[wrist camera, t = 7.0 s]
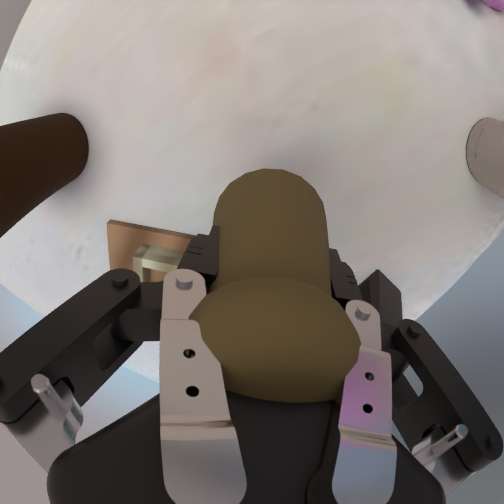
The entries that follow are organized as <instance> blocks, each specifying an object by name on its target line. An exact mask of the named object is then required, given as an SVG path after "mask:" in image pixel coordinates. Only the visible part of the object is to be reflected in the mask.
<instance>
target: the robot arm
mask: <svg viewBox="0 0 504 504" xmlns="http://www.w3.org/2000/svg"><path fill="white" fill-rule="evenodd" d="M467 162H468V166H469V169H470V171H471V173H472V175H473V176H474V178H475V179H476V180H477V181H478V182H480V183H482V184H483V185H485V186H486V187H488V188H490V189H491V190H493V191H494V192H496V193H497V194H499V195H500V196H502V197H503V198H504V122H502V121H499V120H495V119H492V118H485V119H482V120H480V121H479V122H478V123H477V124H476V125H475V126H474V127H473V129H472V131H471V133H470V135H469V138H468V143H467ZM219 241H220V226H216V225H213V226H212V229H211V231H210V234H209V236H208V235H203V234H198V235H196V236H195V237H193V238H191V240H190V242H189V244H188V246H187V248H186V250H185V252H184V254H183V256H182V259H181V261H180V263H179V265H178V267H177V269H176V270H173V271H170V272H169V273H167V274H166V276H165V277H164V280H163V281H159V282H140V277H139V275H138V274H137V273H136V272H134V271H132V270H130V269H125V268H118V269H113V270H110V271H108V272H106V273H105V274H103V275H102V276H101V277H99V278H98V279H96V280H95V281H93V282H92V283H91V284H89V285H88V286H86V287H85V288H84V289H82V290H81V291H79V292H78V293H77V294H75V295H74V296H72V297H71V298H70V299H68V300H67V301H66V302H64V303H63V304H62V305H60V306H59V307H58V308H56V309H55V310H54V311H52V312H51V313H50V314H48V315H47V316H46V317H44V318H43V319H42V320H40V321H39V322H38V323H37V324H35V325H34V326H33V327H31V328H30V329H29V330H28V331H26V332H25V333H24V334H23V335H21V336H20V337H19V338H18V339H16V340H15V341H14V342H13V343H12V344H10V345H9V346H8V347H7V348H5V349H4V350H3V351H2V352H1V353H0V424H1V425H2V426H3V427H4V428H5V429H6V430H7V431H8V432H9V433H10V434H12V435H13V436H14V437H15V438H16V439H17V440H18V441H19V442H20V444H21V445H22V446H23V447H24V448H25V449H26V451H27V452H28V453H29V454H30V455H31V456H32V457H33V458H34V459H35V460H36V461H37V462H38V463H39V464H40V465H41V467H43V469H44V470H46V472H48V476H47V492H48V496H49V500H50V504H446V497H447V496H448V495H449V494H450V493H451V492H452V491H453V490H455V489H456V488H457V487H458V486H459V485H460V484H461V483H462V482H463V481H464V480H465V479H466V478H467V477H469V476H471V475H472V474H474V473H476V472H478V471H479V470H481V469H483V468H484V467H486V466H487V465H488V464H490V463H492V462H493V461H495V460H496V459H498V458H499V457H500V456H501V454H502V451H503V441H502V438H501V435H500V433H499V432H498V430H497V428H496V427H495V425H494V424H493V422H492V421H491V419H490V417H489V416H488V414H487V413H486V411H485V410H484V408H483V407H482V405H481V404H480V402H479V401H478V399H477V398H476V397H475V395H474V394H473V392H472V391H471V390H470V388H469V387H468V385H467V384H466V382H465V381H464V380H463V378H462V377H461V375H460V374H459V373H458V371H457V370H456V369H455V367H454V366H453V365H452V363H451V362H450V361H449V359H448V358H447V357H446V355H445V354H444V353H443V351H442V350H441V349H440V348H439V346H438V345H437V344H436V342H435V341H434V340H433V339H432V337H431V336H430V335H429V334H428V332H427V331H426V330H425V329H424V328H423V327H422V326H421V325H420V324H419V323H417V322H416V321H413V320H410V319H403V320H401V321H400V322H399V324H398V325H397V327H395V326H392V325H390V324H387V323H384V322H382V321H380V315H379V313H378V311H377V310H376V309H375V308H374V307H373V306H372V305H370V304H369V303H367V302H364V300H363V297H362V294H361V292H360V289H359V287H358V285H357V281H356V279H355V276H354V274H353V271H352V269H351V268H350V267H349V266H348V265H347V264H346V263H345V262H341V260H340V257H339V255H338V252H337V250H336V249H331V248H328V250H329V264H330V279H331V291H332V298H333V299H335V300H336V301H337V302H339V304H340V305H341V307H342V308H343V309H344V311H345V312H346V313H347V315H348V317H349V318H350V320H351V322H352V323H353V325H354V327H355V328H356V330H357V332H358V334H359V338H360V341H361V344H362V345H361V346H360V349H359V357H358V361H357V363H356V364H355V365H354V367H353V368H352V369H351V371H350V372H349V373H348V374H347V376H345V378H344V380H343V382H342V384H341V387H340V389H339V391H338V393H337V394H336V396H335V400H328V401H319V402H307V403H292V402H278V401H270V400H263V399H258V398H253V397H248V396H244V395H240V394H237V393H234V392H231V391H228V390H225V387H224V382H223V376H222V370H221V364H220V361H218V360H217V359H216V358H215V356H214V355H213V354H212V352H211V351H210V350H209V348H208V347H207V345H206V344H205V343H204V341H203V340H202V337H201V331H200V326H199V324H198V322H197V321H196V320H191V319H188V318H189V315H190V314H191V313H192V311H193V310H194V309H195V308H196V306H197V305H198V304H199V303H200V301H201V300H202V299H203V298H204V297H205V296H206V295H207V294H208V291H209V288H210V285H211V284H212V283H213V282H214V280H215V279H216V276H217V272H218V267H219ZM144 341H160V367H159V375H160V393H159V394H158V395H156V396H154V397H153V398H151V399H150V400H148V401H147V402H145V403H144V404H142V405H140V406H139V407H137V408H136V409H134V410H133V411H131V412H129V413H128V414H126V415H124V416H123V417H121V418H120V419H118V420H116V421H115V422H113V423H111V424H110V425H108V426H106V427H105V428H103V429H101V430H100V431H98V432H96V433H95V434H93V435H91V436H89V437H88V438H86V439H84V440H82V441H81V442H79V443H77V444H75V438H76V434H77V432H78V430H79V429H80V427H81V426H82V423H83V412H82V409H81V407H82V406H83V405H84V404H85V403H86V402H87V401H88V400H89V398H90V397H91V396H92V395H93V394H94V393H95V392H96V391H97V390H98V389H99V388H100V387H101V386H102V385H103V384H104V383H105V382H106V381H107V380H108V379H109V378H110V376H112V375H113V373H114V372H115V371H116V370H117V369H118V368H119V367H120V366H121V365H122V364H123V363H124V362H125V361H126V360H127V359H128V358H129V357H130V356H131V355H132V354H133V353H134V352H135V351H136V350H137V349H138V348H139V347H140V346H141V345H142V343H143V342H144ZM409 365H411V367H412V368H413V370H414V371H415V373H416V374H417V375H418V377H419V378H420V380H421V381H422V384H423V392H422V394H421V395H420V396H419V397H418V396H417V394H416V393H415V391H414V390H413V388H412V386H411V385H410V383H409V382H408V380H407V379H406V377H405V376H404V374H403V372H404V371H405V370H406V368H407V367H408V366H409ZM392 420H393V422H394V424H395V425H396V427H397V429H398V430H399V432H400V434H401V436H402V437H403V439H404V441H405V443H406V444H407V446H408V448H409V450H410V452H411V453H412V454H411V453H410V452H409V451H408V450H407V449H406V448H405V447H404V446H403V445H402V444H401V443H400V442H399V441H398V440H397V439H396V438H395V437H394V436H393V435H392V434H391V426H392V425H391V423H392Z"/></svg>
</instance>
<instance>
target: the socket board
mask: <svg viewBox="0 0 504 504" xmlns="http://www.w3.org/2000/svg"><path fill="white" fill-rule="evenodd" d="M107 235H108V249H109V261H110V270H113V269H118V268H125V269H130V270H132V271H134V272H136V273H137V274H138V275H139V277H140V282H159V281H163V280H164V277H165V276H166V274H167V273H169V272H170V271H173V270H176V269H177V267H178V265H179V263H180V261H181V259H182V256H183V254H184V252H185V250H186V248H187V246H188V244H189V242H190V240H191V238H193V237H195V236H194V235H189V234H184V233H178V232H173V231H168V230H162V229H157V228H152V227H146V226H141V225H136V224H130V223H125V222H120V221H114V220H110V221H109V222H108V223H107Z"/></svg>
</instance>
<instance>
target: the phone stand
mask: <svg viewBox="0 0 504 504" xmlns="http://www.w3.org/2000/svg"><path fill="white" fill-rule="evenodd" d="M358 287H359V289H360V292H361V294H362V297H363V300H364V302H367V303H369V304H370V305H372V306H373V307H374V308H375V309H376V310H377V311H378V313H379V315H380V321H382V322H384V323H387V324H390V325H392V326H395V327H397V325H398V324H399V322H400V321H401V320H402V302H401V292H400V291H399V290H398V289H397V288H396V287H395V286H394V285H393V284H392V283H391V282H390V281H389V280H388V279H387V278H386V277H385V276H384V275H383V274H382V273H381V272H380V271H379V270H376V271H375V272H374V273H372V274H371V275H370V276H369V277H368V278H367V279H365V280H364V281H363V282H362V283H361V284H360V285H358Z"/></svg>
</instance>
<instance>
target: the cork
mask: <svg viewBox="0 0 504 504" xmlns="http://www.w3.org/2000/svg"><path fill="white" fill-rule="evenodd" d="M213 225H216V226H220V241H219V267H218V272H217V276H216V279H215V280H214V282H213V283H212V284H211V285H210V288H209V291H208V294H207V295H206V296H205V297H204V298H203V299H202V300H201V301H200V303H199V304H198V305H197V306H196V308H195V309H194V310H193V311H192V313H191V314H190V315H189V318H188V319H191V320H196V321H197V322H198V324H199V326H200V331H201V337H202V340H203V341H204V343H205V344H206V345H207V347H208V348H209V350H210V351H211V352H212V354H213V355H214V356H215V358H216V359H217V360H218V361H220V364H221V370H222V376H223V382H224V387H225V390H228V391H231V392H234V393H237V394H240V395H244V396H248V397H253V398H258V399H263V400H270V401H278V402H292V403H307V402H319V401H328V400H335V396H336V394H337V393H338V391H339V389H340V387H341V384H342V382H343V380H344V378H345V376H347V374H348V373H349V372H350V371H351V369H352V368H353V367H354V365H355V364H356V363H357V361H358V357H359V349H360V346H361V345H362V344H361V341H360V338H359V334H358V332H357V330H356V328H355V327H354V325H353V323H352V322H351V320H350V318H349V317H348V315H347V313H346V312H345V311H344V309H343V308H342V307H341V305H340V304H339V302H337V301H336V300H335V299H333V298H332V291H331V279H330V264H329V250H328V248H329V243H328V233H327V223H326V216H325V210H324V205H323V202H322V200H321V199H320V197H319V195H318V194H317V192H316V190H315V189H314V188H313V187H312V186H311V185H310V184H309V183H307V182H306V181H305V180H304V179H303V178H302V177H300V176H298V175H295V174H293V173H290V172H288V171H285V170H279V169H260V170H256V171H252V172H249V173H245V174H244V175H242V176H241V177H239V178H237V179H236V180H234V181H233V182H231V183H230V184H229V185H228V187H227V188H226V189H225V190H224V192H223V193H222V194H221V195H220V197H219V200H218V203H217V206H216V209H215V212H214V219H213Z"/></svg>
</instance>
